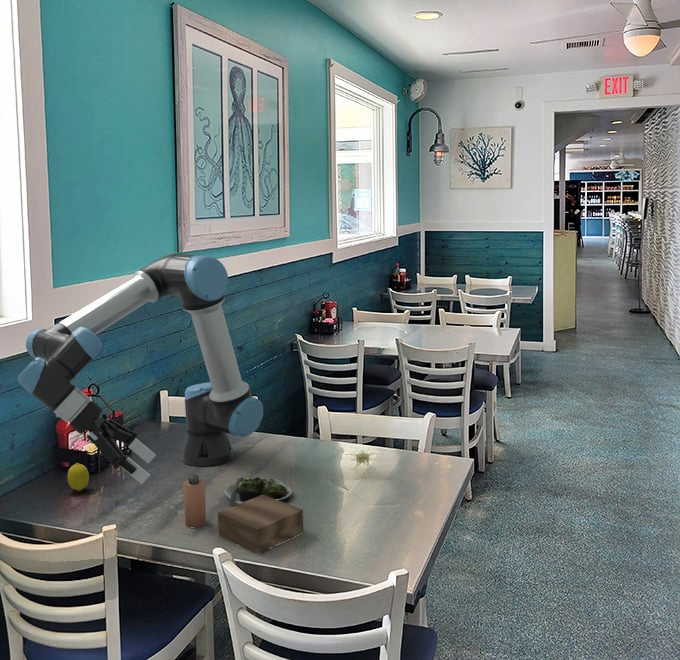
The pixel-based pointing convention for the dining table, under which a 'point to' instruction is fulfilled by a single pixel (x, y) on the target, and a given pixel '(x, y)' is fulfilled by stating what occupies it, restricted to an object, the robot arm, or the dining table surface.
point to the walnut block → (260, 523)
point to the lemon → (78, 477)
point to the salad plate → (257, 490)
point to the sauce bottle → (194, 501)
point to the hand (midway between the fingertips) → (149, 469)
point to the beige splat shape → (362, 458)
